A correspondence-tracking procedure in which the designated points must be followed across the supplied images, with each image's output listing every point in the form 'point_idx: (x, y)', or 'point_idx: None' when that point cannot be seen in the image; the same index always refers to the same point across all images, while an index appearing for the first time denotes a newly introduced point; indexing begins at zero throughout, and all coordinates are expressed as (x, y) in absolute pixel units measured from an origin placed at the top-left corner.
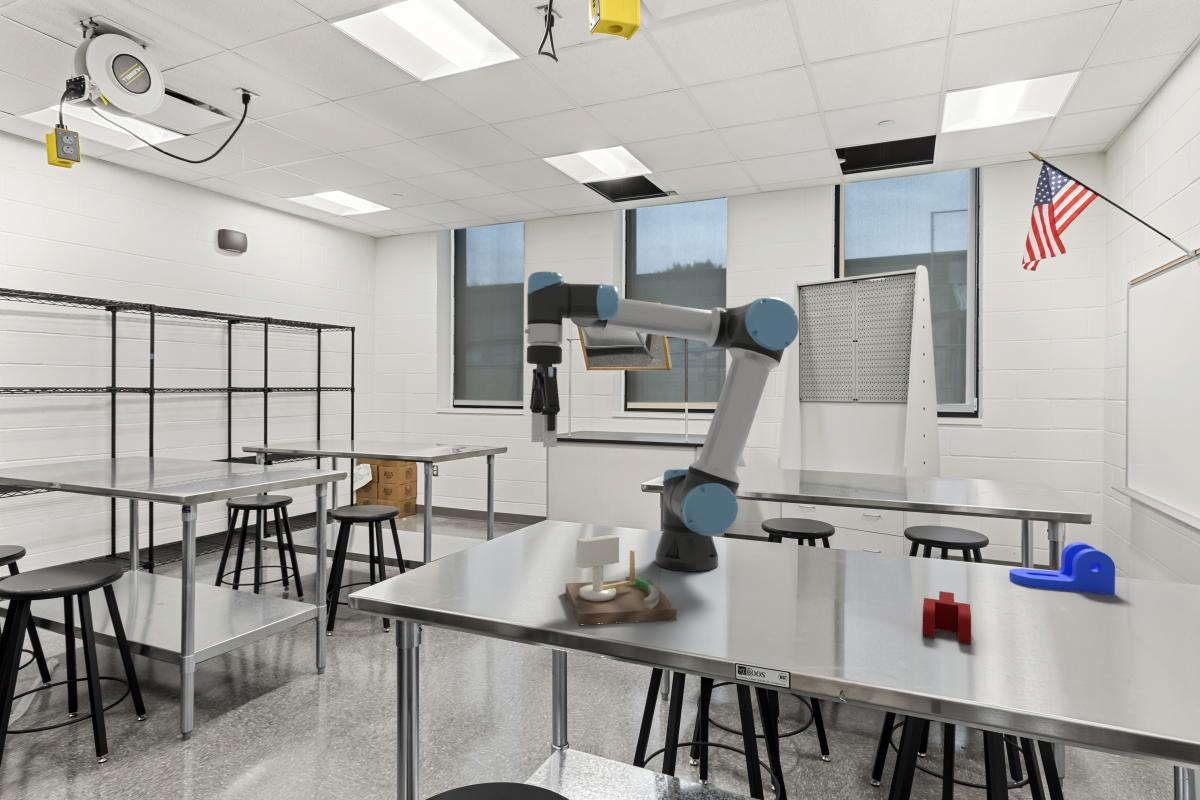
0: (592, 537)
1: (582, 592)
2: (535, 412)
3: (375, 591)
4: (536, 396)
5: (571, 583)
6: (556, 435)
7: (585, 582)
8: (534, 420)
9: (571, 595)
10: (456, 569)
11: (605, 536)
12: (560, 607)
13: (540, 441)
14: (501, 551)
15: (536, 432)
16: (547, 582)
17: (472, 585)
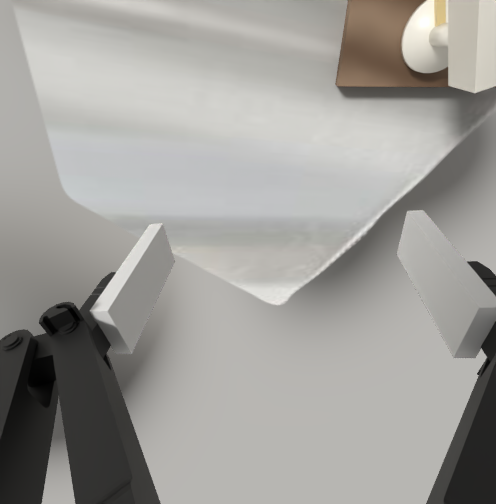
0: (479, 49)
1: (437, 69)
2: (108, 344)
3: (269, 295)
4: (140, 450)
5: (342, 75)
6: (444, 237)
7: (344, 45)
8: (141, 316)
9: (405, 85)
10: (194, 228)
11: (488, 6)
12: (398, 102)
13: (165, 236)
14: (92, 168)
15: (159, 271)
16: (272, 108)
17: (266, 212)
